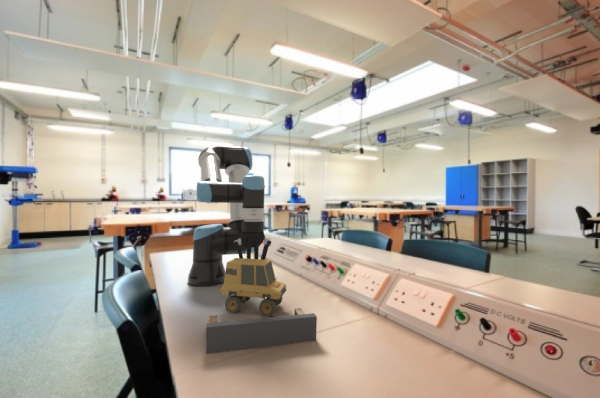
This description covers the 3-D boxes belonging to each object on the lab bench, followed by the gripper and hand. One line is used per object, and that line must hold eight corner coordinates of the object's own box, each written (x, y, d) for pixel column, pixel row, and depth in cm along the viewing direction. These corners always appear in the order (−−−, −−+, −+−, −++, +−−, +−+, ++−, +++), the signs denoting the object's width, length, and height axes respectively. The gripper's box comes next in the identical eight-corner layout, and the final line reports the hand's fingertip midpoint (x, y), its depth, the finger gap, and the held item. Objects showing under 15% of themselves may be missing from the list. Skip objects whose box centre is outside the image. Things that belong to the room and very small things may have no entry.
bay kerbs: (209, 325, 76) (209, 316, 76) (300, 316, 83) (301, 307, 83) (206, 349, 64) (206, 338, 64) (313, 336, 71) (313, 326, 71)
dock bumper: (206, 348, 65) (207, 322, 65) (313, 335, 71) (313, 312, 71) (205, 354, 62) (206, 327, 62) (316, 340, 69) (316, 316, 69)
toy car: (278, 318, 81) (279, 267, 81) (218, 312, 85) (218, 263, 85) (286, 305, 92) (287, 259, 91) (232, 300, 95) (233, 256, 95)
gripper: (234, 221, 91) (232, 293, 91) (273, 221, 94) (272, 290, 94) (233, 219, 98) (232, 286, 98) (270, 219, 102) (269, 284, 102)
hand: (251, 288), depth 96 cm, fingers closed
